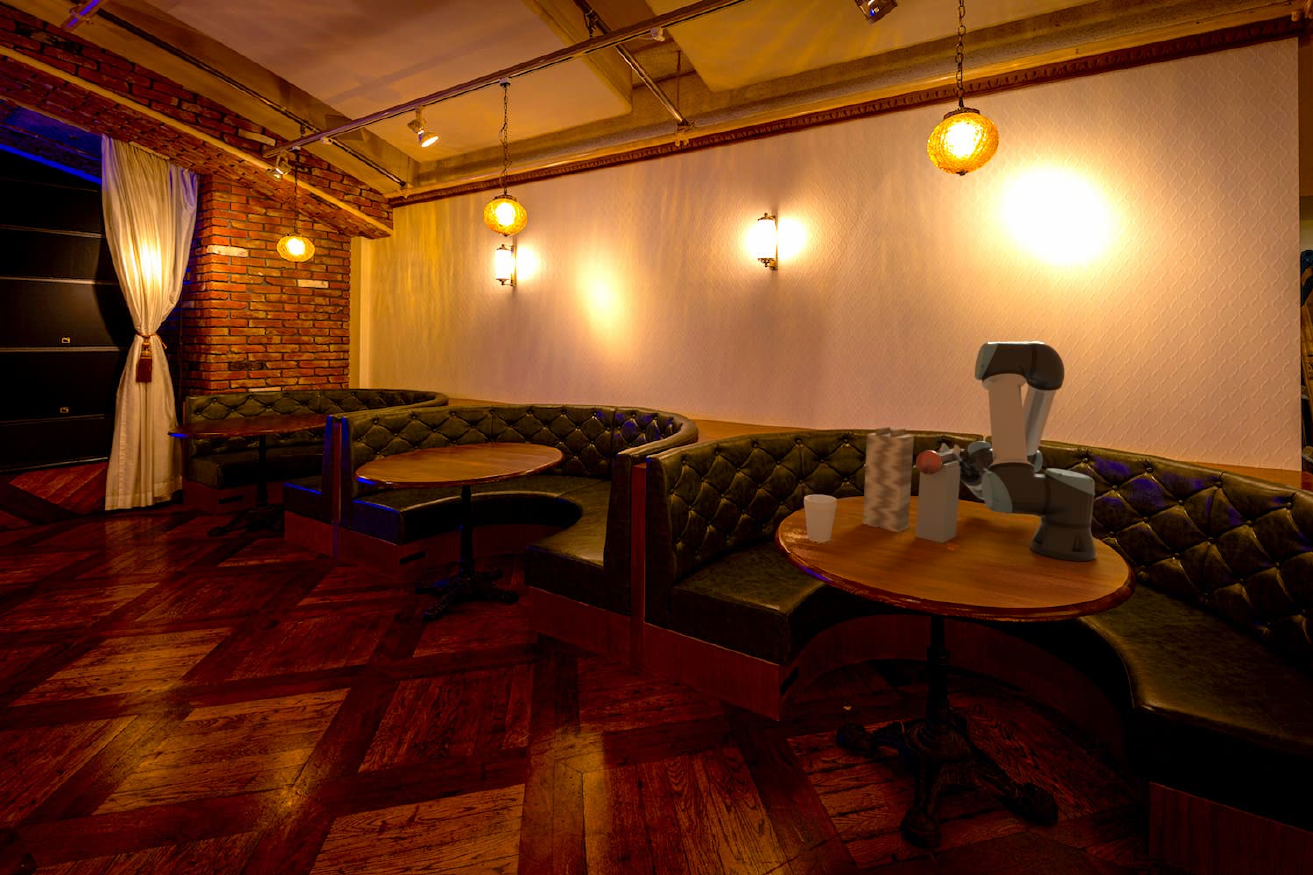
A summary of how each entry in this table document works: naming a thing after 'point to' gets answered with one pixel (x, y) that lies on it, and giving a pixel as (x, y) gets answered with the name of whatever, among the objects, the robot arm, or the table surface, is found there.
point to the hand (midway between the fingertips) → (948, 448)
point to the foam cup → (819, 516)
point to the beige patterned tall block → (888, 479)
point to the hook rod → (934, 460)
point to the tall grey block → (938, 503)
